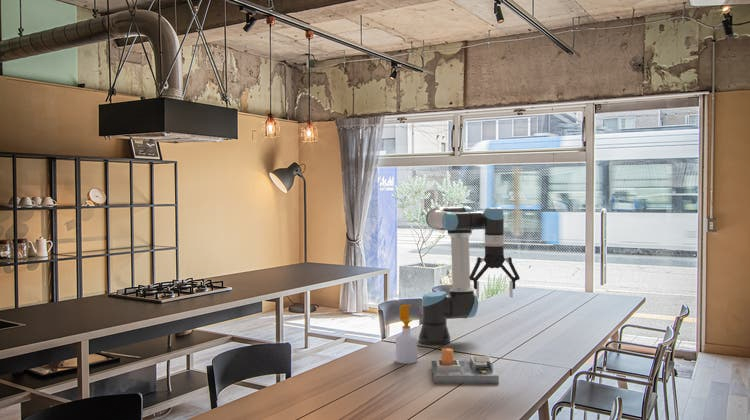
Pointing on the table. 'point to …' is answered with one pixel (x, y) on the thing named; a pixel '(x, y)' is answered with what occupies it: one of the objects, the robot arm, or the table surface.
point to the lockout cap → (447, 356)
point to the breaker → (481, 359)
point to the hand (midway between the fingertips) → (494, 297)
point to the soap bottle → (406, 340)
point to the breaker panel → (464, 372)
